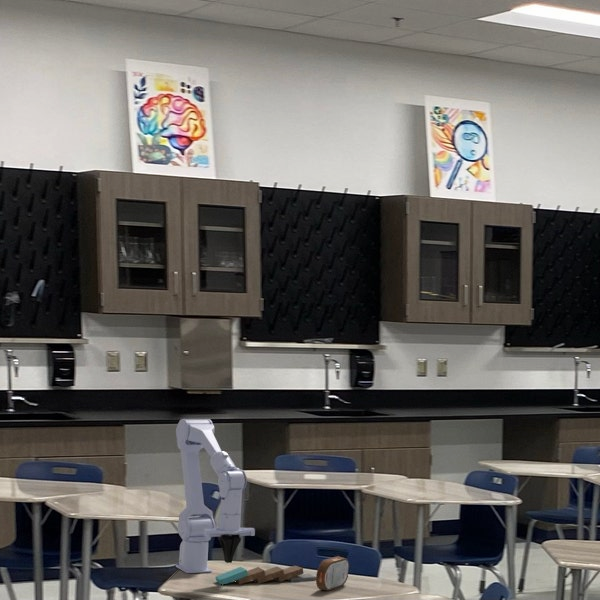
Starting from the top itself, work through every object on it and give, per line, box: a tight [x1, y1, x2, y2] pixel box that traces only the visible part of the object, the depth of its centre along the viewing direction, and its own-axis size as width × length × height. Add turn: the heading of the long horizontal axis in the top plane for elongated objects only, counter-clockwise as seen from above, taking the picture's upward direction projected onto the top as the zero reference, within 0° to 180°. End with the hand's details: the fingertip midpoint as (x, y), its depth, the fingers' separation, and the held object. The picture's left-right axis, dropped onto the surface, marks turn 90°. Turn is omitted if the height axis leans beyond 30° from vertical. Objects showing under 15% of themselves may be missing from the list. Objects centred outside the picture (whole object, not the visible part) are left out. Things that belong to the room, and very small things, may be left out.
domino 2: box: [253, 566, 284, 584], centre depth 330 cm, size 2×4×8 cm
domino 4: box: [286, 573, 316, 583], centre depth 335 cm, size 2×4×8 cm
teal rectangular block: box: [214, 566, 248, 586], centre depth 326 cm, size 2×4×8 cm
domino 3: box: [273, 565, 305, 582], centre depth 334 cm, size 2×4×8 cm
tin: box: [315, 555, 350, 592], centre depth 326 cm, size 15×3×8 cm, turn 149°
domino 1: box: [235, 566, 265, 585], centre depth 328 cm, size 2×4×8 cm
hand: (228, 562), depth 325 cm, fingers closed
